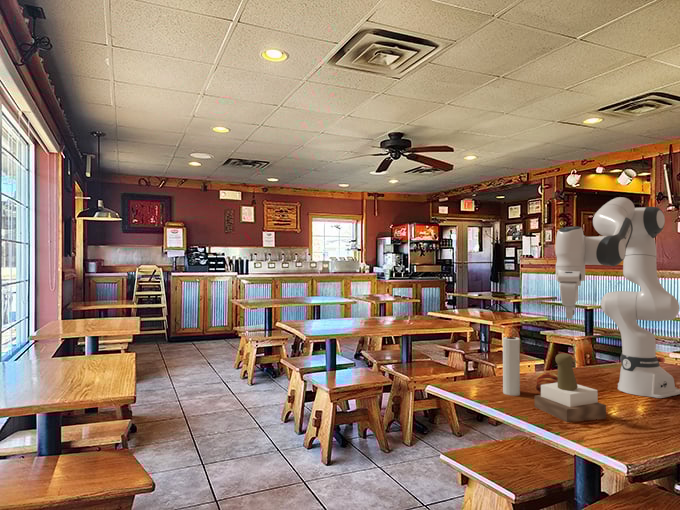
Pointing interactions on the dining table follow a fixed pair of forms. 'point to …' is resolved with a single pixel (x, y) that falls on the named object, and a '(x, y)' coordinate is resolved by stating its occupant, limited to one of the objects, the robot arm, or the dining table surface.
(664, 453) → the dining table surface
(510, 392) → the paper towel roll
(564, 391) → the tower top block
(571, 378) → the olive green pawn
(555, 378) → the croissant
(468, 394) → the dining table surface
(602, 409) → the tower base block
